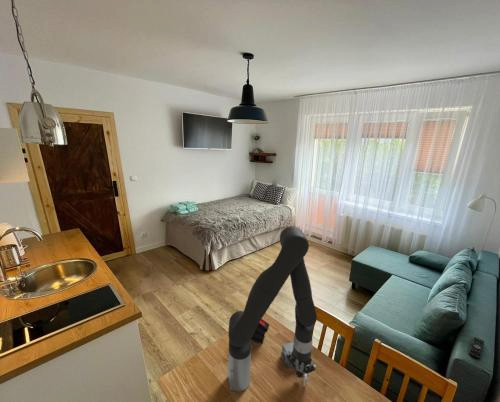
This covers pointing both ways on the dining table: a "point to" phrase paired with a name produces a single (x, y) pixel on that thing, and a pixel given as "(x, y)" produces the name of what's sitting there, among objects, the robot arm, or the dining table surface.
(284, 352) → the camera body
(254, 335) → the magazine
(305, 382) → the side door
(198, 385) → the dining table surface
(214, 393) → the dining table surface
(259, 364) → the dining table surface
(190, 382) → the dining table surface
